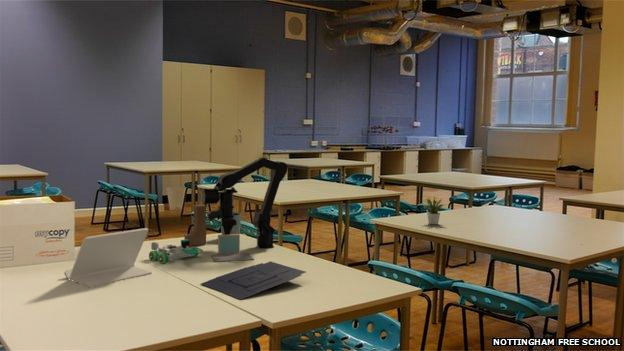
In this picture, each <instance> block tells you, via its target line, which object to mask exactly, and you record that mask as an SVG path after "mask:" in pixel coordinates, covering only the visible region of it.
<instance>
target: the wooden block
mask: <svg viewBox="0 0 624 351" xmlns="http://www.w3.org/2000/svg"><path fill="white" fill-rule="evenodd" d="M206 213H207V205H206V204H194V205H193V229H192V230H191V232H190V233H187V234H185V235H184V237H183V238H184V239H189V246H188V247H197V246H203V245H204V246H205V245H207V214H206ZM184 239H183V240H184Z"/></svg>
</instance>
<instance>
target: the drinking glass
mask: <svg viewBox="0 0 624 351" xmlns="http://www.w3.org/2000/svg"><path fill="white" fill-rule="evenodd" d="M233 215H234V219H235V220H236V221H237V225H234V226H233V228H232V230H231V232H230V234H239V235H240V236H241V224H242V222H241V221H242V213H241V212H236V211H235V212H234V211H233ZM220 231H221V234H220V235H224V231H223V227H222V226H221V225H220Z"/></svg>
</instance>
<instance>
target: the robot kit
mask: <svg viewBox="0 0 624 351" xmlns="http://www.w3.org/2000/svg"><path fill="white" fill-rule="evenodd" d="M150 245H151V247H150V248H151V250H150V252H149V253H148V259H149V261H151V262H156V261H158V262H159V263H160V265H161V264H162V265H165V264H166V263H168V262H169V261H174V260H178V259H183V258H188V257H192V258H197V257H198V256H199V254H203V253H204V250H203V249H202V248H199V247H197V246H192V247H190V246H189V239H181V240H180V245H173V244H168V245H163V246H162V247H159V243H158V242H156V241H152V243H151V244H150Z"/></svg>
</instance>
